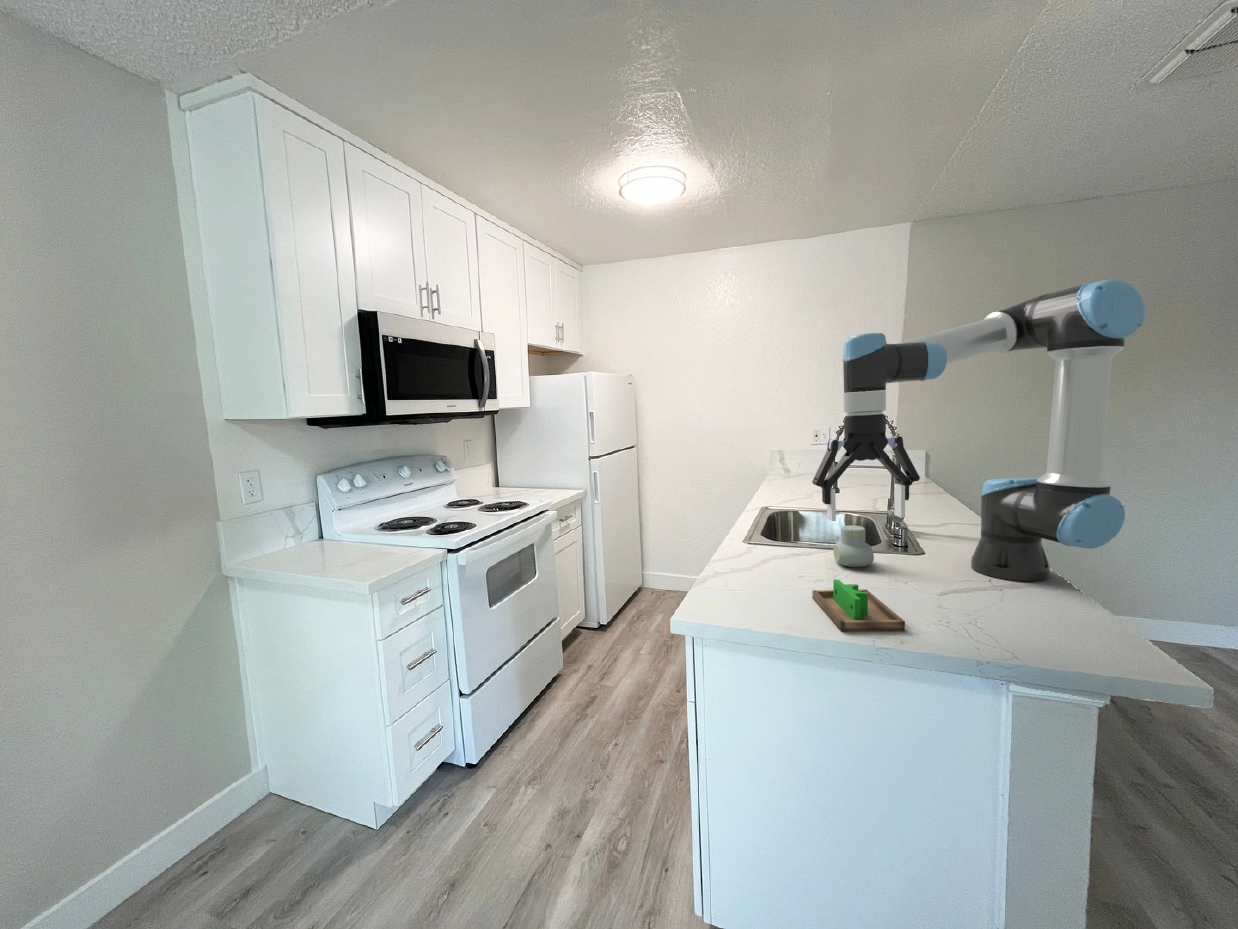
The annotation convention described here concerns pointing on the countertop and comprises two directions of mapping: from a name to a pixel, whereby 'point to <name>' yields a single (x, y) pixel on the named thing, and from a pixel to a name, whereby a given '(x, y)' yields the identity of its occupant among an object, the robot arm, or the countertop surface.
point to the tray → (874, 621)
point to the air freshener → (853, 548)
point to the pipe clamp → (850, 599)
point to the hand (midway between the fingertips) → (865, 518)
